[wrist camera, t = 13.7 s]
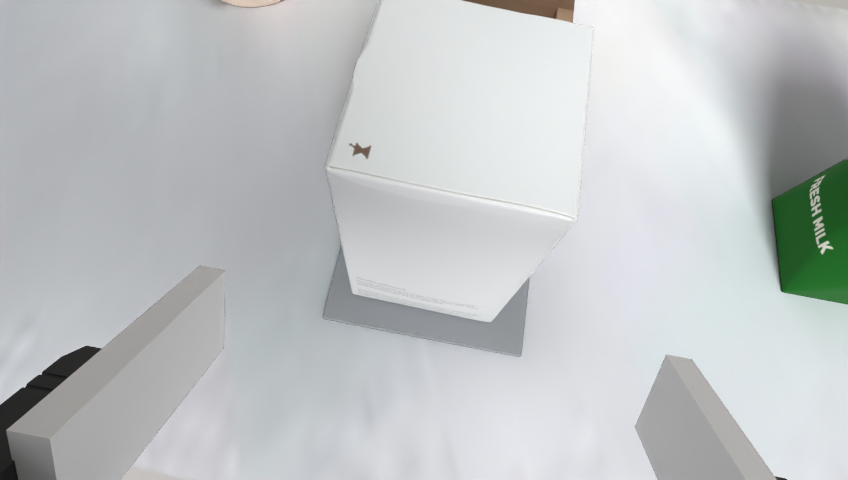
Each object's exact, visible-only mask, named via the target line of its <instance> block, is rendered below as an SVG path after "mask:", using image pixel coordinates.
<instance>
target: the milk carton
mask: <svg viewBox="0 0 848 480" xmlns="http://www.w3.org/2000/svg"><path fill="white" fill-rule="evenodd" d="M772 203H773V212H774V221H775V231H776V240H777V249H778V258H779V267H780V276H781V285H782V292H784V293H790V294H795V295H800V296H806V297H811V298H817V299H822V300H827V301H833V302H838V303H843V304H848V158H846V159H845V160H843V161H841V162H839V163H837V164H836V165H834V166H832V167H830V168H828V169H827V170H825V171H823V172H821V173H819V174H818V175H816V176H814V177H812V178H811V179H809V180H807V181H805V182H803V183H802V184H800V185H798V186H796V187H794V188H793V189H791V190H789V191H787V192H786V193H784V194H782V195H780V196H778V197H776V198H775V199H773V200H772Z"/></svg>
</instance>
